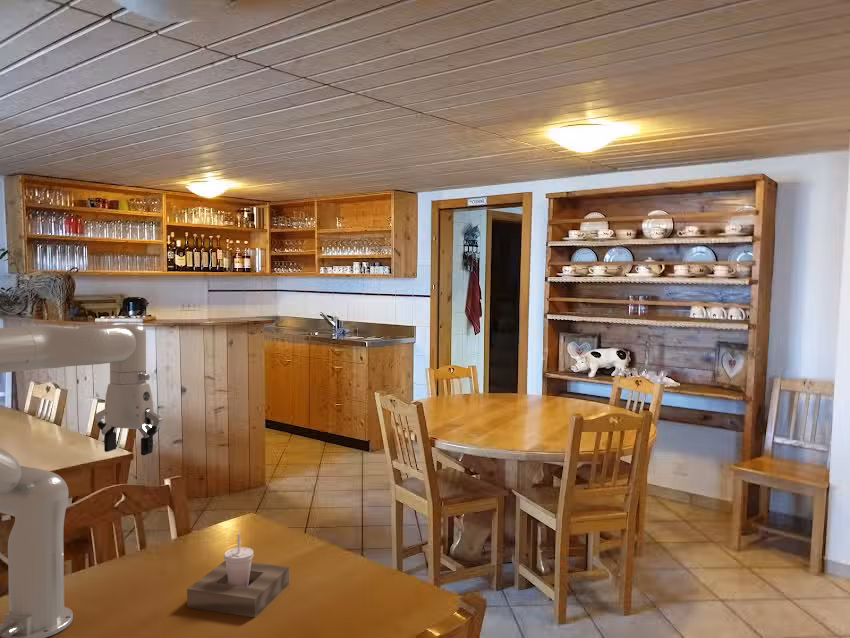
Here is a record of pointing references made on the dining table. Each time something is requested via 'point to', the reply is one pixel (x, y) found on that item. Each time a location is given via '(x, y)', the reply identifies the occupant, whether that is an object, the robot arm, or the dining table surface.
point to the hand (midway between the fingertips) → (128, 452)
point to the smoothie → (238, 565)
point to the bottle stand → (238, 590)
